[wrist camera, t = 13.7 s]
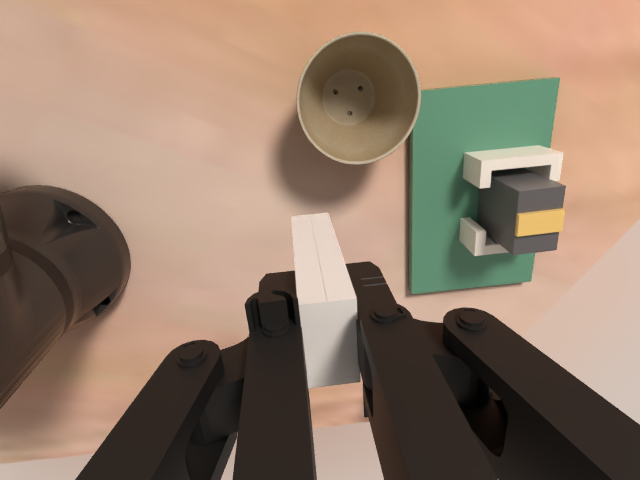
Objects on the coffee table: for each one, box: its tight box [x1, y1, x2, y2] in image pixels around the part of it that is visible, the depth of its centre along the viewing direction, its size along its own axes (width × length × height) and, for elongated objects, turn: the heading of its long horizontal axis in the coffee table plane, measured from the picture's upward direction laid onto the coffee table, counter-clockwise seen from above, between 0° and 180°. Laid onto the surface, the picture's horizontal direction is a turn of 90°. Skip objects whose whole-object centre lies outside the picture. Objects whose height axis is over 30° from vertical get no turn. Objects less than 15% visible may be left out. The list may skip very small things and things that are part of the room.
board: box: [409, 77, 564, 294], centre depth 40 cm, size 14×22×5 cm, turn 5°
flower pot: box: [297, 32, 421, 165], centre depth 35 cm, size 10×10×7 cm
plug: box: [477, 168, 566, 255], centre depth 38 cm, size 4×6×8 cm, turn 6°
